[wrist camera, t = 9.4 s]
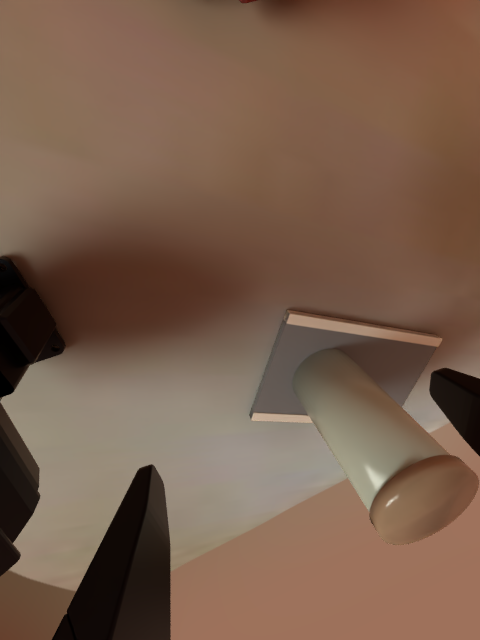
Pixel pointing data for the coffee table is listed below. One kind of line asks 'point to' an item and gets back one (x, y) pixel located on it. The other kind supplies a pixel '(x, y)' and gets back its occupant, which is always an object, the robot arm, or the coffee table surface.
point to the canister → (383, 450)
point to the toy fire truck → (246, 1)
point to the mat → (350, 337)
